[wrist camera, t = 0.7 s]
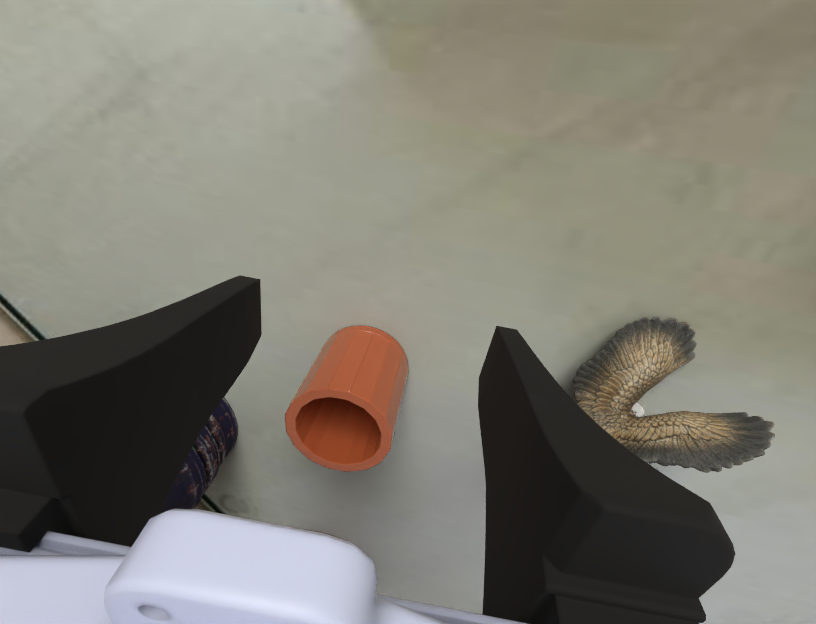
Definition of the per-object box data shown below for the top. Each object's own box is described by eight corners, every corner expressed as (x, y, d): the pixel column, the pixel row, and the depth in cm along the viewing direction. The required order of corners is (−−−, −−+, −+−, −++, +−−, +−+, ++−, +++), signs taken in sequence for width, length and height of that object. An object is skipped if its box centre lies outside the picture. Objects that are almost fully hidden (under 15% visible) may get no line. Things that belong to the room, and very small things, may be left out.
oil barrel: (88, 409, 32) (-179, 635, 19) (139, 330, 28) (-163, 553, 15) (201, 481, 34) (32, 728, 21) (264, 419, 30) (100, 681, 17)
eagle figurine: (626, 479, 26) (784, 416, 21) (587, 548, 21) (785, 488, 15) (547, 376, 28) (671, 293, 23) (493, 415, 23) (638, 319, 18)
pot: (384, 410, 28) (363, 486, 23) (310, 373, 27) (270, 441, 22) (424, 352, 25) (410, 422, 20) (343, 309, 25) (307, 370, 19)
